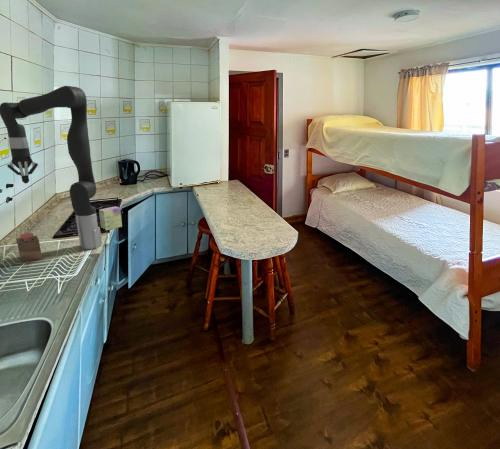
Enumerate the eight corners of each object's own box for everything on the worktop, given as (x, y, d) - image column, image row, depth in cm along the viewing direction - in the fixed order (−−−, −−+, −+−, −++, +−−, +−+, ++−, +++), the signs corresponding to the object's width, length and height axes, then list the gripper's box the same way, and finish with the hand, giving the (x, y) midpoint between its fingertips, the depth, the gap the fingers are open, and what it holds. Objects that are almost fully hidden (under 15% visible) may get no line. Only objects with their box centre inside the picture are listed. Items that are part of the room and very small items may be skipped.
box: (117, 224, 205) (115, 206, 201) (122, 226, 201) (120, 207, 198) (100, 228, 197) (98, 209, 193) (105, 230, 194) (103, 211, 190)
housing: (20, 256, 156) (16, 238, 154) (40, 253, 161) (36, 235, 158) (21, 262, 150) (17, 243, 148) (42, 258, 155) (38, 240, 152)
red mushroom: (23, 253, 156) (19, 234, 153) (36, 251, 158) (32, 232, 156) (24, 256, 152) (20, 237, 149) (37, 254, 155) (33, 234, 152)
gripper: (2, 148, 154) (10, 185, 159) (36, 147, 161) (42, 182, 167) (2, 147, 159) (9, 183, 165) (34, 146, 167) (40, 180, 172)
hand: (26, 183), depth 166 cm, fingers closed
